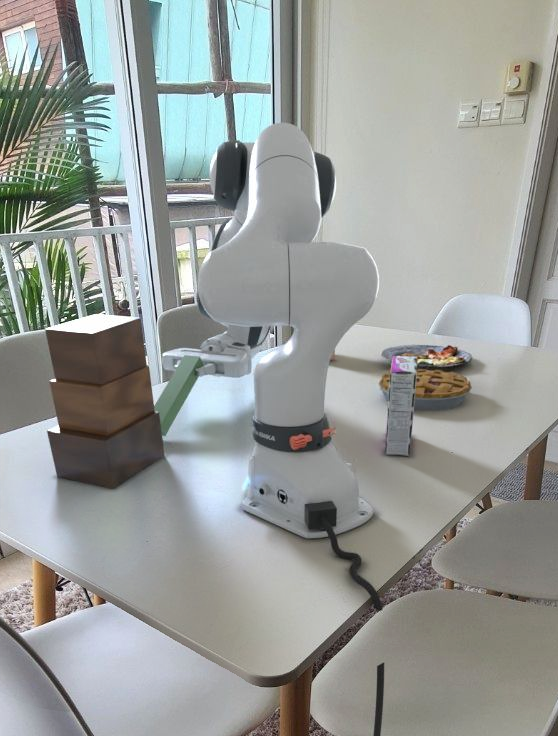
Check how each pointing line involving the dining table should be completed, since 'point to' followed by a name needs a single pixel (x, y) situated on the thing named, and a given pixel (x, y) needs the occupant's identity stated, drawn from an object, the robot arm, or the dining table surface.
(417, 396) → the pie
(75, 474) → the block stack
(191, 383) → the green bar
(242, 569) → the dining table surface
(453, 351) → the food plate
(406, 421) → the candy bar box
